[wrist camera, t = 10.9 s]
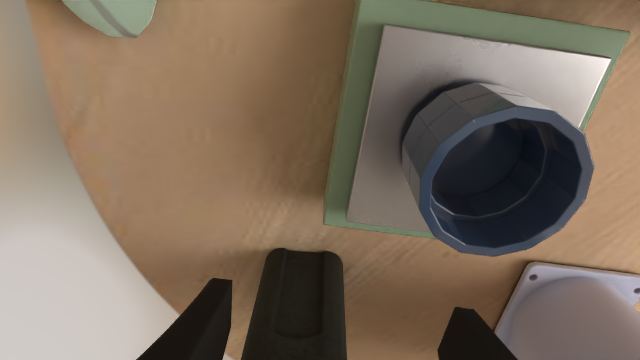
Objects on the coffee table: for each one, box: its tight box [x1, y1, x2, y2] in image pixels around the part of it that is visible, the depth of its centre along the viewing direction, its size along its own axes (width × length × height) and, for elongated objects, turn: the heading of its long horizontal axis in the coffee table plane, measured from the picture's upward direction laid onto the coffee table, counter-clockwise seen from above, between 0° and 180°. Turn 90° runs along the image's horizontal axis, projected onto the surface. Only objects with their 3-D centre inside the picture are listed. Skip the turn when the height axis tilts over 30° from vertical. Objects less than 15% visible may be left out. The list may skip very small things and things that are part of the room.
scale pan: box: [345, 23, 611, 232], centre depth 16 cm, size 9×9×1 cm
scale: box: [323, 0, 630, 250], centre depth 18 cm, size 11×12×3 cm
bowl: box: [402, 83, 594, 257], centre depth 14 cm, size 6×6×4 cm
